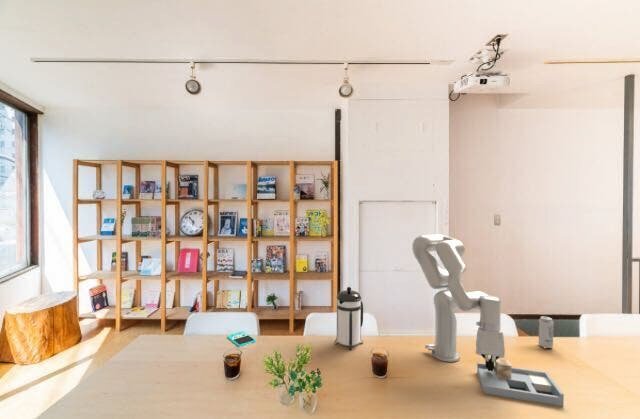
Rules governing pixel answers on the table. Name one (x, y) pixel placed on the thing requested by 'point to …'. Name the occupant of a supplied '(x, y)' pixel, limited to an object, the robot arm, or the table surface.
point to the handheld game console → (241, 338)
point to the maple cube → (503, 368)
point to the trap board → (521, 385)
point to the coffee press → (349, 318)
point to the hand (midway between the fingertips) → (489, 369)
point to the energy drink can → (546, 332)
